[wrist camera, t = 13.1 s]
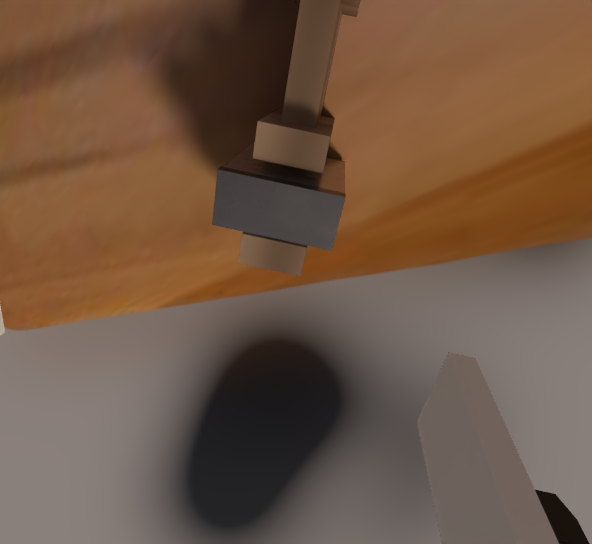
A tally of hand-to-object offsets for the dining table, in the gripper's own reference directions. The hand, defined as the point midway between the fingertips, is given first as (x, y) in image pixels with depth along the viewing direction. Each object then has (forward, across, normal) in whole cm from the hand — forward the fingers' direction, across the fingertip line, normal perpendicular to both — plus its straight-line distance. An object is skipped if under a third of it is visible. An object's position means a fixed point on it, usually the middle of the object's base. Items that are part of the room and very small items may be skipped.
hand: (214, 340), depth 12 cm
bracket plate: (+22, 0, 0) cm, 22 cm away
